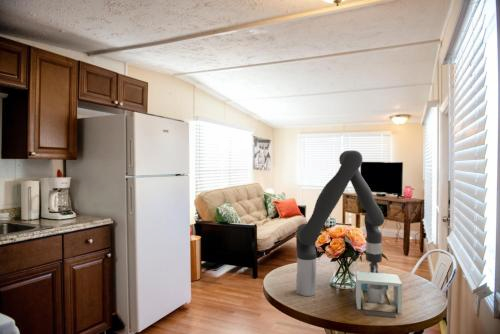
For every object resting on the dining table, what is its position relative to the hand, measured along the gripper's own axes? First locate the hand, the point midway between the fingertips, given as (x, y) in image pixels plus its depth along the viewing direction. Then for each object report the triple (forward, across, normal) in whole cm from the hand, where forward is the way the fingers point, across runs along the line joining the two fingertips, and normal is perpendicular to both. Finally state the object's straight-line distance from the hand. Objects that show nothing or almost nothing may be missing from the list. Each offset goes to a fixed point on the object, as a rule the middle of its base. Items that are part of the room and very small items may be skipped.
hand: (373, 286), depth 169 cm
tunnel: (+3, +17, 0) cm, 18 cm away
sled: (+3, +11, 0) cm, 11 cm away
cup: (+3, +17, 0) cm, 17 cm away
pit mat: (+3, +27, 0) cm, 27 cm away
